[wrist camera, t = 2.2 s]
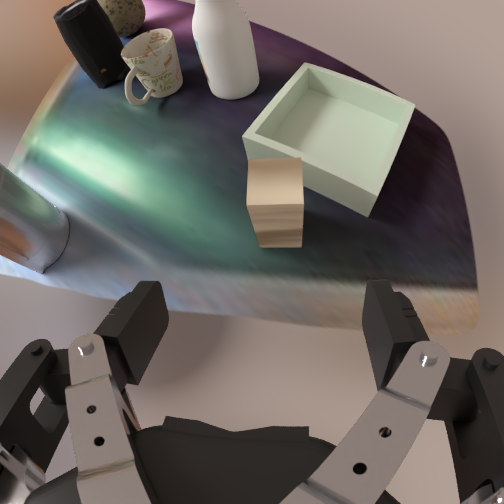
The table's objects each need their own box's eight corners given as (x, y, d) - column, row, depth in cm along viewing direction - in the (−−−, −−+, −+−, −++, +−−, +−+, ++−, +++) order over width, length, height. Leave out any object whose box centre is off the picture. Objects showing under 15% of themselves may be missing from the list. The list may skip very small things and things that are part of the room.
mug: (197, 71, 46) (181, 26, 36) (165, 123, 42) (140, 75, 33) (157, 72, 48) (138, 31, 38) (123, 121, 44) (96, 79, 35)
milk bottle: (269, 79, 43) (253, -34, 24) (238, 107, 41) (208, -14, 23) (231, 66, 45) (206, -36, 26) (200, 92, 44) (162, -14, 25)
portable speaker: (125, 85, 48) (80, 6, 29) (88, 94, 49) (40, 26, 31) (140, 58, 50) (104, -15, 32) (103, 68, 52) (64, 2, 33)
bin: (367, 217, 33) (377, 196, 29) (248, 161, 38) (242, 136, 33) (406, 128, 37) (415, 104, 32) (305, 87, 41) (304, 62, 36)
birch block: (301, 247, 33) (303, 203, 24) (260, 248, 34) (246, 205, 24) (300, 209, 35) (301, 157, 25) (260, 210, 35) (248, 159, 26)
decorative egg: (159, 19, 56) (140, -28, 42) (138, 42, 53) (115, -8, 39) (125, 25, 59) (105, -16, 45) (103, 49, 56) (78, 4, 41)
